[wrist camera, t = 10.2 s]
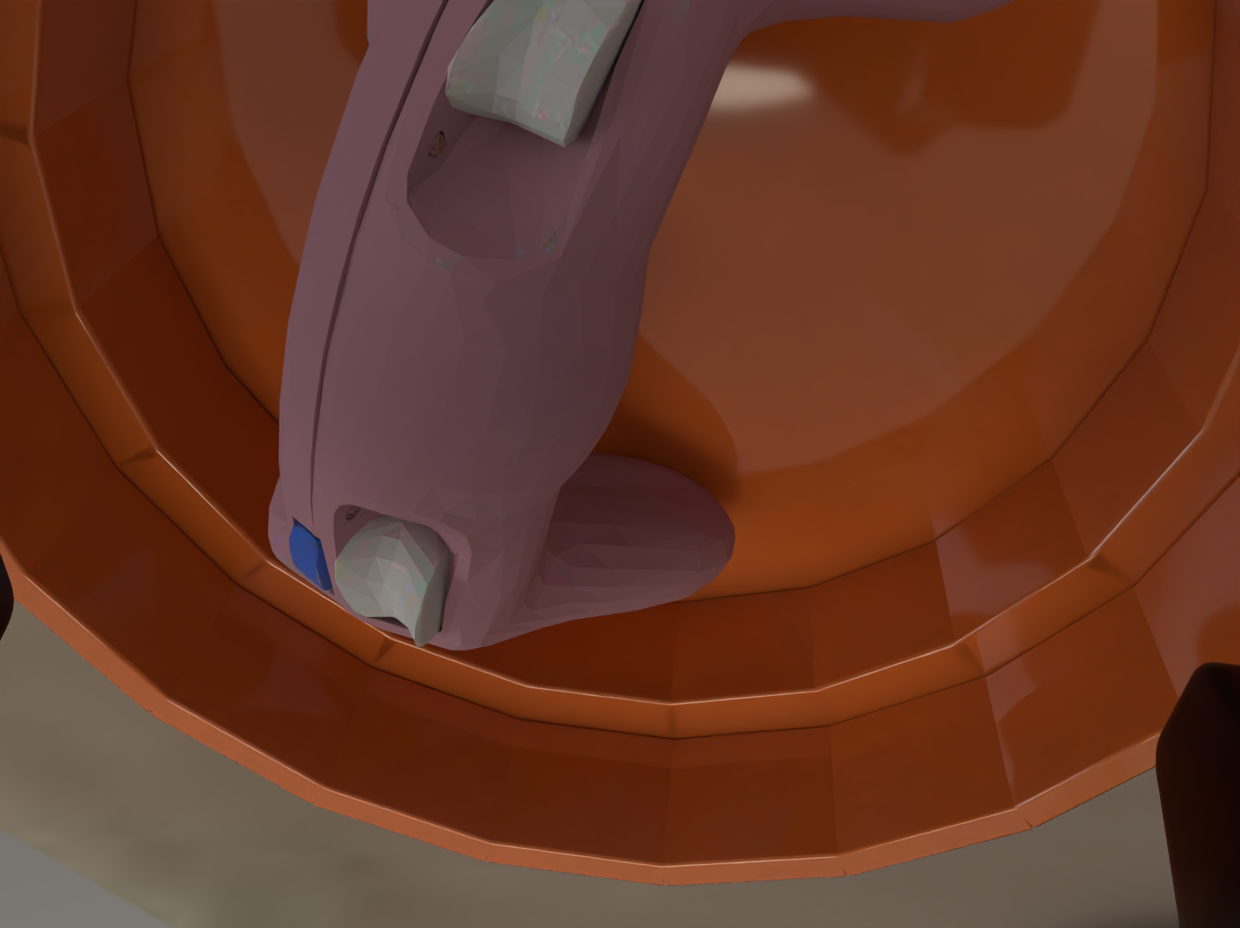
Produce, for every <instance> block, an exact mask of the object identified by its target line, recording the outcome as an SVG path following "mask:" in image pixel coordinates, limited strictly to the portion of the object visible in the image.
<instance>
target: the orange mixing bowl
mask: <svg viewBox="0 0 1240 928" xmlns="http://www.w3.org/2000/svg"><path fill="white" fill-rule="evenodd" d="M367 21H368V0H0V553H1V556H2V559H3V561H4V564H5V567H6V570H7V573H8V576H9V579H10V581H11V584H12V588H13V595H14V599H15V600H16V601H18V602H19V603H20V604H21V605H22V606H23V607H25V608H26V609H27V610H28V611H29V612H30V613H32V614H33V615H34V616H35V617H36V618H37V619H39V620H40V621H41V622H42V623H43V624H44V625H46V626H47V627H48V628H49V629H50V630H51V631H53V632H54V633H55V634H56V635H57V636H59V637H60V638H61V639H62V640H63V641H64V642H66V643H67V644H68V645H69V646H70V647H71V648H73V649H74V650H75V651H76V652H77V653H78V654H80V655H81V656H82V657H83V658H84V659H85V660H87V661H88V662H89V663H90V664H91V665H92V666H94V667H95V668H96V669H97V670H98V671H99V672H101V673H102V674H103V675H104V676H105V677H106V678H108V679H109V680H110V681H111V682H112V683H113V684H115V685H116V686H117V687H118V688H119V689H120V690H122V691H123V692H124V693H125V694H126V695H127V696H129V697H130V698H131V699H132V700H133V701H134V702H136V703H137V704H138V705H139V706H140V707H141V708H143V709H144V710H145V711H148V712H150V714H151V715H152V716H154V717H155V718H157V719H159V720H161V721H163V722H164V723H166V724H168V725H170V726H172V727H173V728H175V729H177V730H179V731H181V732H182V733H184V734H186V735H188V736H190V737H191V738H193V739H195V740H197V741H199V742H200V743H202V744H204V745H206V746H208V747H209V748H211V749H213V750H215V751H217V752H218V753H220V754H222V755H224V756H226V757H227V758H229V759H231V760H233V761H235V762H236V763H238V764H240V765H242V766H244V767H245V768H247V769H249V770H251V771H253V772H254V773H256V774H258V775H260V776H262V777H263V778H265V779H267V780H269V781H271V782H272V783H274V784H276V785H278V786H280V787H281V788H283V789H285V790H287V791H289V792H290V793H292V794H294V795H296V796H298V797H299V798H301V799H303V800H305V801H307V802H308V803H311V804H313V803H314V804H315V806H317V807H320V808H323V809H326V810H329V811H332V812H335V813H338V814H341V815H344V816H347V817H350V818H353V819H356V820H359V821H363V822H366V823H369V824H372V825H375V826H378V827H381V828H384V829H387V830H390V831H393V832H396V833H399V834H402V835H405V836H408V837H411V838H414V839H417V840H420V841H423V842H426V843H429V844H432V845H435V846H438V847H441V848H444V849H447V850H450V851H453V852H457V853H460V854H463V855H466V856H469V857H472V858H475V859H478V860H481V861H486V860H487V861H488V862H490V863H497V864H505V865H512V866H520V867H527V868H534V869H542V870H549V871H557V872H564V873H572V874H579V875H586V876H594V877H601V878H609V879H616V880H623V881H631V882H638V883H646V884H653V885H664V883H665V884H666V885H668V886H676V885H695V884H713V883H732V882H750V881H769V880H787V879H806V878H825V877H843V876H846V875H847V874H848V875H849V876H853V875H857V874H860V873H864V872H868V871H872V870H876V869H880V868H884V867H888V866H891V865H895V864H899V863H903V862H907V861H911V860H915V859H919V858H923V857H926V856H930V855H934V854H938V853H942V852H946V851H950V850H954V849H957V848H961V847H965V846H969V845H973V844H977V843H981V842H985V841H988V840H992V839H996V838H1000V837H1004V836H1008V835H1012V834H1016V833H1020V832H1023V831H1027V830H1031V829H1032V828H1033V826H1034V827H1036V826H1040V825H1042V824H1044V823H1045V822H1047V821H1049V820H1051V819H1053V818H1055V817H1057V816H1059V815H1061V814H1063V813H1065V812H1067V811H1069V810H1071V809H1073V808H1075V807H1077V806H1079V805H1081V804H1083V803H1085V802H1087V801H1089V800H1091V799H1093V798H1095V797H1097V796H1099V795H1101V794H1103V793H1105V792H1107V791H1108V790H1110V789H1112V788H1114V787H1116V786H1118V785H1120V784H1122V783H1124V782H1126V781H1128V780H1130V779H1132V778H1134V777H1136V776H1138V775H1140V774H1142V773H1144V772H1146V771H1148V770H1150V769H1152V768H1154V767H1156V748H1157V743H1158V739H1159V737H1160V734H1161V732H1162V730H1163V728H1164V726H1165V724H1166V722H1167V720H1168V719H1169V717H1170V715H1171V713H1172V711H1173V709H1174V707H1175V705H1176V703H1177V702H1178V700H1179V698H1180V696H1181V694H1182V692H1183V690H1184V688H1185V686H1186V685H1187V683H1188V681H1189V679H1190V677H1191V675H1192V674H1193V672H1194V671H1195V670H1196V669H1197V668H1198V667H1199V666H1201V665H1202V664H1204V663H1209V662H1220V663H1228V664H1236V665H1240V0H1014V1H1013V2H1011V3H1009V4H1007V5H1004V6H1002V7H1000V8H998V9H995V10H993V11H990V12H987V13H983V14H980V15H976V16H973V17H970V18H966V19H963V20H959V21H955V22H951V23H943V22H928V21H913V20H897V19H882V18H867V17H851V16H840V17H828V18H817V19H805V20H793V21H784V22H780V23H777V24H774V25H771V26H768V27H764V28H761V29H758V30H755V31H752V32H750V33H749V34H748V35H747V36H745V37H744V38H743V39H742V40H741V42H740V44H739V46H738V47H737V49H736V51H735V52H734V54H733V56H732V58H731V59H730V61H729V63H728V64H727V67H726V69H725V72H724V74H723V77H722V79H721V82H720V84H719V86H718V89H717V91H716V94H715V96H714V99H713V101H712V104H711V106H710V109H709V111H708V114H707V116H706V118H705V121H704V123H703V126H702V128H701V131H700V133H699V136H698V138H697V141H696V143H695V146H694V148H693V150H692V153H691V155H690V158H689V160H688V162H687V165H686V167H685V169H684V171H683V174H682V176H681V178H680V181H679V183H678V185H677V188H676V190H675V192H674V195H673V197H672V199H671V202H670V204H669V206H668V209H667V211H666V213H665V215H664V218H663V220H662V222H661V225H660V227H659V229H658V232H657V234H656V236H655V239H654V241H653V243H652V246H651V248H650V250H649V257H648V265H647V273H646V281H645V289H644V298H643V306H642V312H641V318H640V323H639V328H638V333H637V339H636V344H635V349H634V355H633V360H632V365H631V370H630V376H629V379H628V382H627V384H626V386H625V389H624V391H623V394H622V396H621V399H620V401H619V403H618V406H617V408H616V410H615V412H614V414H613V416H612V418H611V421H610V423H609V425H608V427H607V429H606V430H605V432H604V433H603V435H602V436H601V438H600V439H599V441H598V442H597V444H596V445H595V447H594V448H593V450H592V451H591V452H601V453H607V454H612V455H618V456H623V457H629V458H635V459H640V460H644V461H647V462H650V463H654V464H657V465H660V466H664V467H667V468H669V469H672V470H674V471H677V472H679V473H681V474H683V475H684V476H686V477H687V478H689V479H690V480H692V481H694V482H695V483H697V484H698V485H700V486H701V487H703V488H707V490H708V491H709V492H710V493H711V494H712V495H713V497H714V498H715V499H716V500H717V501H718V502H719V503H720V505H721V506H722V507H723V508H724V509H725V511H726V512H727V514H728V516H729V518H730V520H731V521H732V523H733V525H734V530H735V537H736V538H735V544H734V549H733V554H732V557H731V559H730V560H729V562H728V563H727V564H726V566H725V568H724V569H723V570H722V571H721V572H720V573H719V575H718V576H717V577H716V578H715V579H714V580H713V581H711V582H710V583H708V584H707V585H705V586H704V587H702V588H701V589H699V590H698V591H696V592H695V593H693V594H692V595H691V596H688V597H686V598H683V599H680V600H676V601H672V602H668V603H664V604H660V605H656V606H652V607H648V608H644V609H640V610H636V611H630V612H623V613H616V614H609V615H602V616H595V617H588V618H582V619H575V620H570V621H566V622H562V623H558V624H554V625H551V626H547V627H543V628H540V629H537V630H534V631H531V632H528V633H525V634H522V635H519V636H516V637H513V638H510V639H507V640H504V641H501V642H498V643H496V644H493V645H489V646H484V647H480V648H475V649H470V650H449V649H446V648H442V647H439V646H436V645H432V644H429V643H427V644H425V645H424V646H422V647H417V645H416V643H415V641H414V639H412V638H409V637H406V636H402V635H399V634H396V633H393V632H389V631H386V630H383V629H381V628H378V627H376V626H373V625H371V624H368V623H365V622H363V621H361V620H359V619H358V618H356V617H354V616H353V615H351V614H350V613H348V612H347V611H346V610H345V609H344V608H343V607H342V606H341V605H340V604H339V603H338V602H336V601H335V600H333V599H332V598H331V597H329V596H328V595H326V594H325V593H323V592H322V591H321V590H319V589H318V588H316V587H315V586H313V585H312V584H311V583H309V582H308V581H306V580H305V579H304V578H302V577H301V576H299V575H298V574H296V573H295V572H294V571H292V570H291V569H289V568H288V567H287V566H286V565H285V564H283V563H282V562H281V561H280V560H279V559H277V558H276V556H275V554H274V553H273V551H272V548H271V544H270V541H269V537H268V525H269V506H270V503H271V500H272V497H273V494H274V491H275V488H276V485H277V482H278V479H279V477H280V468H279V416H280V395H281V386H282V376H283V367H284V357H285V348H286V338H287V329H288V321H289V317H290V312H291V307H292V302H293V298H294V293H295V288H296V284H297V279H298V274H299V270H300V265H301V260H302V256H303V251H304V247H305V243H306V238H307V234H308V230H309V225H310V221H311V217H312V213H313V208H314V204H315V200H316V196H317V193H318V190H319V187H320V184H321V181H322V178H323V174H324V171H325V168H326V165H327V162H328V159H329V156H330V153H331V150H332V147H333V144H334V141H335V138H336V135H337V132H338V129H339V126H340V123H341V120H342V117H343V114H344V111H345V108H346V105H347V102H348V100H349V97H350V94H351V91H352V88H353V85H354V82H355V79H356V76H357V73H358V71H359V68H360V66H361V64H362V61H363V59H364V57H365V54H366V52H367V50H368V47H369V42H368V38H367Z"/></svg>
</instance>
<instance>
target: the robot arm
mask: <svg viewBox="0 0 1240 928" xmlns="http://www.w3.org/2000/svg"><path fill="white" fill-rule="evenodd" d="M13 604H14V595H13V588H12V584H11V581H10V579H9V576H8V573H7V570H6V567H5V564H4V561H3V559H2V556H1V553H0V640H1V638H2V636H3V634H4V632H5V630H6V628H7V626H8V623H9V621H10V618H11V615H12V611H13ZM1156 773H1157V780H1158V787H1159V793H1160V800H1161V806H1162V813H1163V820H1164V826H1165V833H1166V839H1167V846H1168V853H1169V859H1170V866H1171V872H1172V879H1173V886H1174V892H1175V899H1176V905H1177V912H1178V919H1179V925H1180V928H1240V665H1236V664H1228V663H1220V662H1209V663H1204V664H1202V665H1201V666H1199V667H1198V668H1197V669H1196V670H1195V671H1194V672H1193V674H1192V675H1191V677H1190V679H1189V681H1188V683H1187V685H1186V686H1185V688H1184V690H1183V692H1182V694H1181V696H1180V698H1179V700H1178V702H1177V703H1176V705H1175V707H1174V709H1173V711H1172V713H1171V715H1170V717H1169V719H1168V720H1167V722H1166V724H1165V726H1164V728H1163V730H1162V732H1161V734H1160V737H1159V739H1158V743H1157V748H1156Z"/></svg>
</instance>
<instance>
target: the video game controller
mask: <svg viewBox="0 0 1240 928" xmlns="http://www.w3.org/2000/svg"><path fill="white" fill-rule="evenodd" d="M1013 1H1014V0H368V21H367V38H368V42H369V47H368V50H367V52H366V54H365V57H364V59H363V61H362V64H361V66H360V68H359V71H358V73H357V76H356V79H355V82H354V85H353V88H352V91H351V94H350V97H349V100H348V102H347V105H346V108H345V111H344V114H343V117H342V120H341V123H340V126H339V129H338V132H337V135H336V138H335V141H334V144H333V147H332V150H331V153H330V156H329V159H328V162H327V165H326V168H325V171H324V174H323V178H322V181H321V184H320V187H319V190H318V193H317V196H316V200H315V204H314V208H313V213H312V217H311V221H310V225H309V230H308V234H307V238H306V243H305V247H304V251H303V256H302V260H301V265H300V270H299V274H298V279H297V284H296V288H295V293H294V298H293V302H292V307H291V312H290V317H289V321H288V329H287V338H286V348H285V357H284V367H283V376H282V386H281V395H280V416H279V468H280V477H279V479H278V482H277V485H276V488H275V491H274V494H273V497H272V500H271V503H270V506H269V525H268V537H269V541H270V544H271V548H272V551H273V553H274V554H275V556H276V558H277V559H279V560H280V561H281V562H282V563H283V564H285V565H286V566H287V567H288V568H289V569H291V570H292V571H294V572H295V573H296V574H298V575H299V576H301V577H302V578H304V579H305V580H306V581H308V582H309V583H311V584H312V585H313V586H315V587H316V588H318V589H319V590H321V591H322V592H323V593H325V594H326V595H328V596H329V597H331V598H332V599H333V600H335V601H336V602H338V603H339V604H340V605H341V606H342V607H343V608H344V609H345V610H346V611H347V612H348V613H350V614H351V615H353V616H354V617H356V618H358V619H359V620H361V621H363V622H365V623H368V624H371V625H373V626H376V627H378V628H381V629H383V630H386V631H389V632H393V633H396V634H399V635H402V636H406V637H409V638H412V639H414V641H415V643H416V645H417V647H422V646H424V645H425V644H427V643H429V644H432V645H436V646H439V647H442V648H446V649H449V650H470V649H475V648H480V647H484V646H489V645H493V644H496V643H498V642H501V641H504V640H507V639H510V638H513V637H516V636H519V635H522V634H525V633H528V632H531V631H534V630H537V629H540V628H543V627H547V626H551V625H554V624H558V623H562V622H566V621H570V620H575V619H582V618H588V617H595V616H602V615H609V614H616V613H623V612H630V611H636V610H640V609H644V608H648V607H652V606H656V605H660V604H664V603H668V602H672V601H676V600H680V599H683V598H686V597H688V596H691V595H692V594H693V593H695V592H696V591H698V590H699V589H701V588H702V587H704V586H705V585H707V584H708V583H710V582H711V581H713V580H714V579H715V578H716V577H717V576H718V575H719V573H720V572H721V571H722V570H723V569H724V568H725V566H726V564H727V563H728V562H729V560H730V559H731V557H732V554H733V549H734V544H735V538H736V537H735V530H734V525H733V523H732V521H731V520H730V518H729V516H728V514H727V512H726V511H725V509H724V508H723V507H722V506H721V505H720V503H719V502H718V501H717V500H716V499H715V498H714V497H713V495H712V494H711V493H710V492H709V491H708V490H707V488H703V487H701V486H700V485H698V484H697V483H695V482H694V481H692V480H690V479H689V478H687V477H686V476H684V475H683V474H681V473H679V472H677V471H674V470H672V469H669V468H667V467H664V466H660V465H657V464H654V463H650V462H647V461H644V460H640V459H635V458H629V457H623V456H618V455H612V454H607V453H601V452H591V451H592V450H593V448H594V447H595V445H596V444H597V442H598V441H599V439H600V438H601V436H602V435H603V433H604V432H605V430H606V429H607V427H608V425H609V423H610V421H611V418H612V416H613V414H614V412H615V410H616V408H617V406H618V403H619V401H620V399H621V396H622V394H623V391H624V389H625V386H626V384H627V382H628V379H629V376H630V370H631V365H632V360H633V355H634V349H635V344H636V339H637V333H638V328H639V323H640V318H641V312H642V306H643V298H644V289H645V281H646V273H647V265H648V257H649V250H650V248H651V246H652V243H653V241H654V239H655V236H656V234H657V232H658V229H659V227H660V225H661V222H662V220H663V218H664V215H665V213H666V211H667V209H668V206H669V204H670V202H671V199H672V197H673V195H674V192H675V190H676V188H677V185H678V183H679V181H680V178H681V176H682V174H683V171H684V169H685V167H686V165H687V162H688V160H689V158H690V155H691V153H692V150H693V148H694V146H695V143H696V141H697V138H698V136H699V133H700V131H701V128H702V126H703V123H704V121H705V118H706V116H707V114H708V111H709V109H710V106H711V104H712V101H713V99H714V96H715V94H716V91H717V89H718V86H719V84H720V82H721V79H722V77H723V74H724V72H725V69H726V67H727V64H728V63H729V61H730V59H731V58H732V56H733V54H734V52H735V51H736V49H737V47H738V46H739V44H740V42H741V40H742V39H743V38H744V37H745V36H747V35H748V34H749V33H750V32H752V31H755V30H758V29H761V28H764V27H768V26H771V25H774V24H777V23H780V22H784V21H793V20H805V19H817V18H828V17H840V16H851V17H867V18H882V19H897V20H913V21H928V22H943V23H951V22H955V21H959V20H963V19H966V18H970V17H973V16H976V15H980V14H983V13H987V12H990V11H993V10H995V9H998V8H1000V7H1002V6H1004V5H1007V4H1009V3H1011V2H1013Z"/></svg>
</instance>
